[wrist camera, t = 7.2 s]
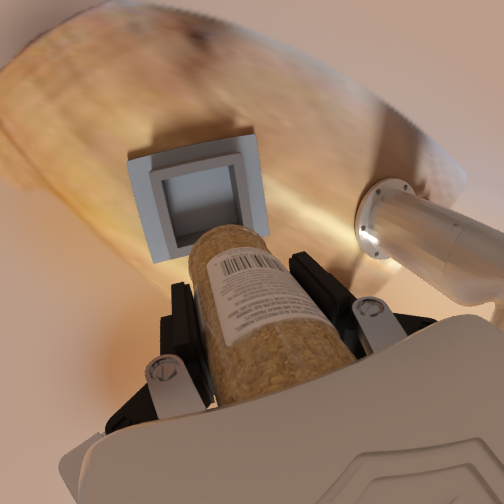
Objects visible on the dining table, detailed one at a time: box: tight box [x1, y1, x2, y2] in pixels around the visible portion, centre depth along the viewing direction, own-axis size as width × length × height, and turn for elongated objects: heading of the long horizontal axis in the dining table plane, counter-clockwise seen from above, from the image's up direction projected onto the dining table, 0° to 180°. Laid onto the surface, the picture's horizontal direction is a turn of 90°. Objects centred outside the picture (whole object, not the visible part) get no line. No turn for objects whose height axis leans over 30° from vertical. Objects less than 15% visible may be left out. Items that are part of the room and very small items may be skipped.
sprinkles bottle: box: [188, 224, 357, 407], centre depth 10 cm, size 5×5×13 cm
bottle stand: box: [126, 134, 269, 263], centre depth 29 cm, size 14×12×4 cm
